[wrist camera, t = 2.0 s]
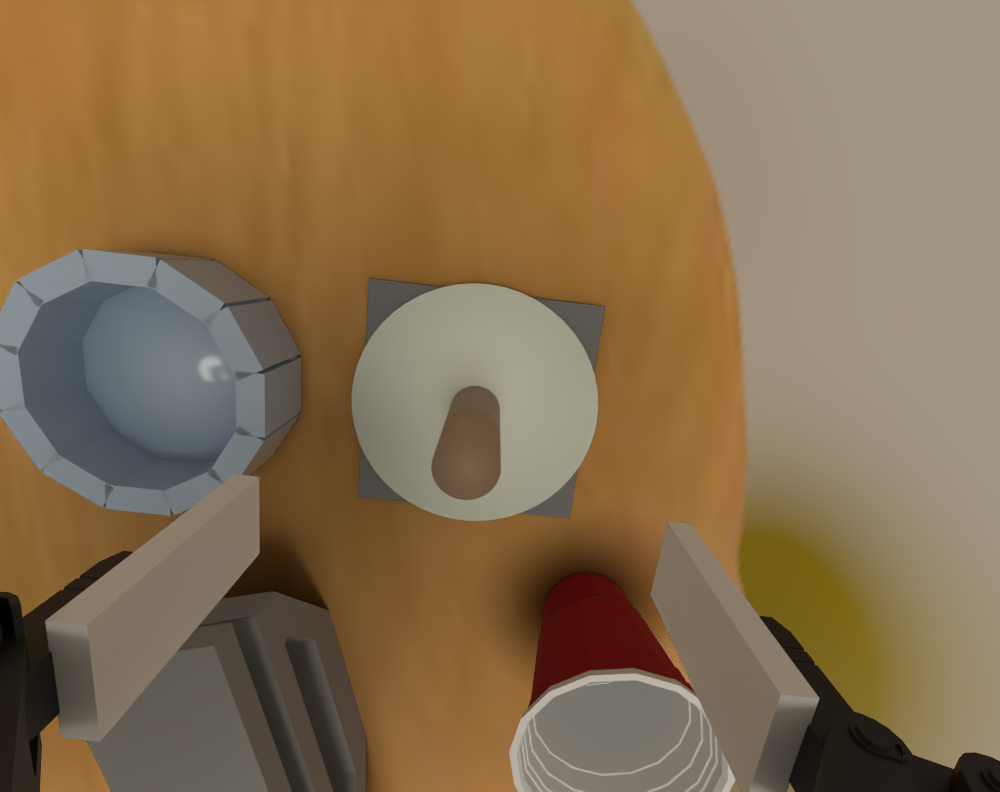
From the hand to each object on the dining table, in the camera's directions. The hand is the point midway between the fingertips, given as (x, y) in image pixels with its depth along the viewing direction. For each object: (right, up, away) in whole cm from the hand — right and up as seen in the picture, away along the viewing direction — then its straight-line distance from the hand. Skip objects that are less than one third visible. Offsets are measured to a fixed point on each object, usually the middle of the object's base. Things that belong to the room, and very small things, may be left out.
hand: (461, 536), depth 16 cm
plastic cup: (+7, -10, +19) cm, 23 cm away
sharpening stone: (-14, -17, +21) cm, 30 cm away
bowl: (-18, +6, +15) cm, 24 cm away
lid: (0, +4, +15) cm, 15 cm away
